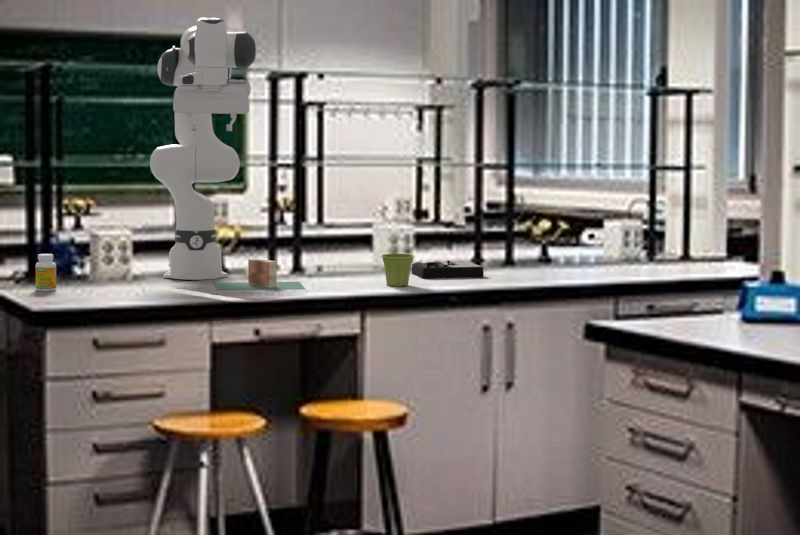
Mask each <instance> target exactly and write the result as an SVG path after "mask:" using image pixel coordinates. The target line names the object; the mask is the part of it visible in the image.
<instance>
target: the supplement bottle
mask: <svg viewBox="0 0 800 535" xmlns="http://www.w3.org/2000/svg"><path fill="white" fill-rule="evenodd" d="M37 260H38V262H36V264H35V290H36V291H37V292H53V291H56V290H57V264H56V262H54V261H53V260H54V254H53V253H40V254H37Z"/></svg>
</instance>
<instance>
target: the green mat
mask: <svg viewBox="0 0 800 535" xmlns="http://www.w3.org/2000/svg"><path fill="white" fill-rule="evenodd" d="M213 286H214V288H215V290H216V291H266V290H267V291H268V290H269V291H270V290H271V291H273V290H274V291H279V290H282V291H283V290H284V291H285V290H291V291H292V290H306V288H305V287H304V285H303V284H302V283H301V282H300V281H277V287H270V288H269V287H263V286H256V285H250V284H248V282H247V281H246V282H245V281H240V282H238V281H236V282H235V281H234V282H232V281H231V282H226V281H225V282H224V281H223V282H213ZM216 295H217V296H219V294H216Z"/></svg>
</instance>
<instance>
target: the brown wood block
mask: <svg viewBox="0 0 800 535" xmlns="http://www.w3.org/2000/svg"><path fill="white" fill-rule="evenodd" d="M277 262H278V261H276V260H271V259H270V260H269V259H261V258H249V259H248V265H247V266H248V267H247V268H248V270H247V271H248V273H247V275H248V279H247V280H248V284H250V285H256V286H263V287H269V288H270V287H277V282H278V280H277V278H278V277H277V275H278V274H277V272H278V271H277V270H278V269H277V268H278V267H277Z"/></svg>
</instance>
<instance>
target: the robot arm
mask: <svg viewBox="0 0 800 535" xmlns="http://www.w3.org/2000/svg"><path fill="white" fill-rule="evenodd" d="M255 41H256V40H255V39H254V38H253V36H252V35H251V34H250V33H249V32H248V31H237V32H236V31H227V25H226V21H225V19H222V18H219V17H207V16H206V17H200V18H198V19H197V20H196V24H195V25H193V26H191V27H189V28H188V29H185V31H184V33H183V34H182V36H181V38H180V47H176V46H175V45H172V48H170V49H167V50H166V51H165V52H163V53H162V54H161V56H160V58H159V60H158V63H157V69H156V70H157V74H158V77H159V81H160V82H161V83H162V84H163V85H166V86H169V87H176V88H175V90H174V93H173V104H172V110H173V112H174V135H175V138H176V140H177V141H178V144H176V143H175V144H173V143H172V144H167V145H162V146H157V147H156V148H155V149H154V150H153V151H152V153H151V156H150V160H149V167H150V171H151V173H152V175H153V176H154V178H155V179H157V180H158V181H159V182H160V183H162V185H164V187H165V188H167V190H168V192H169V194H170V195H171V196H172V199H173V203H174V208H175V219H176V220H175V222H176V224H175V225H176V229H175V230H174V241H175V244H174V245H173V246H172V247H171V248H170V251H169V252H168V262H169V263H168V267H169V270H168V271H166V272H164V273H163V276H162V278H164V279H173V280H174V279H175V280H189V281H190V280H191V281H196V280H197V281H198V280H199V281H200V280H214V279H215V280H216V279H219V278H228V277H229V274H228V273H227V272H225V271H223V270H222V269H223V268H222V266H223V265H222V249H221V248H220V246H218V245H217V244H216V242H217V230H216V229H215V205H214V202H213V201H212V199H210V198H209V197H207V196H205V195H204V194H202V193H200V192H198V191H196V189H194V187H193V184H194V183H220V182H221V183H222V182H226V181H231V180H233V179H234V178H236V176H237V174H238V173H239V171H240V164H241V162H240V161H241V160H240V157H239V155H238V153H237V151H236V150H235V149H234V148H233V147H232V146H230V145H227V144H225V143H224V142H222V141H221V140H220V139H219V138H218V137H217V136H216V134H215V133H214V128H213V119H212V114H219V115H220V114H222V115H223V114H226V115H229V114H230V118H231V120H230V123H229V124H225V125H226V126H225V127H226V132H233V125H234V124H235V121H236V120H237V114H238V115H247V114H248V113H249V112H250V101H249V96H250V95H251V84H250V83H249V81H247V80H245V79H243V78H241V79H235V78H231V77H232V68H233V69H234V68H235V69H244V70H246V69H248V68H250V66H252V65H253V64H254V62H255V60H256V55H257V45H256V42H255Z"/></svg>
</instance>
